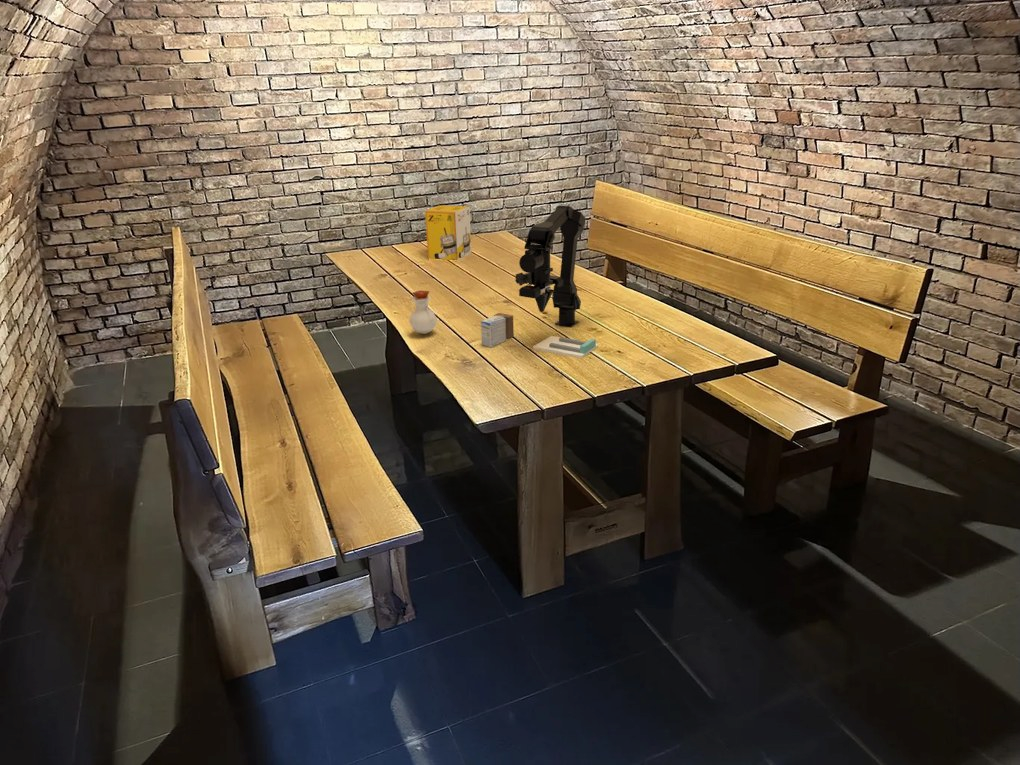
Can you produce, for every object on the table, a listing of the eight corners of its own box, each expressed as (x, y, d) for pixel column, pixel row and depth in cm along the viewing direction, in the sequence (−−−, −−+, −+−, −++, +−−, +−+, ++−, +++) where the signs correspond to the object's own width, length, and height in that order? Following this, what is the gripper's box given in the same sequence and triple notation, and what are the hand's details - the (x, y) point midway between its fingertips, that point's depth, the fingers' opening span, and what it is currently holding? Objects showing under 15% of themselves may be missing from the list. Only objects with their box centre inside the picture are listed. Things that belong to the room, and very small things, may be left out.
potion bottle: (439, 336, 256) (437, 294, 251) (412, 339, 254) (408, 297, 248) (435, 328, 265) (432, 288, 259) (408, 331, 262) (405, 290, 257)
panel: (498, 312, 254) (513, 315, 251) (499, 334, 257) (513, 337, 254) (493, 315, 251) (508, 317, 248) (494, 337, 254) (509, 339, 251)
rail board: (551, 339, 251) (551, 329, 249) (598, 347, 242) (598, 337, 240) (533, 349, 242) (533, 339, 240) (581, 359, 232) (581, 348, 231)
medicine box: (496, 338, 253) (495, 315, 249) (506, 341, 250) (505, 317, 247) (481, 345, 247) (480, 320, 244) (491, 347, 244) (490, 323, 241)
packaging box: (458, 264, 355) (455, 212, 345) (428, 261, 360) (424, 210, 350) (471, 256, 368) (469, 206, 359) (442, 254, 374) (439, 205, 364)
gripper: (535, 256, 247) (535, 301, 253) (504, 268, 233) (505, 315, 239) (564, 260, 241) (563, 305, 247) (534, 272, 227) (534, 320, 233)
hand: (541, 311), depth 242 cm, fingers closed
